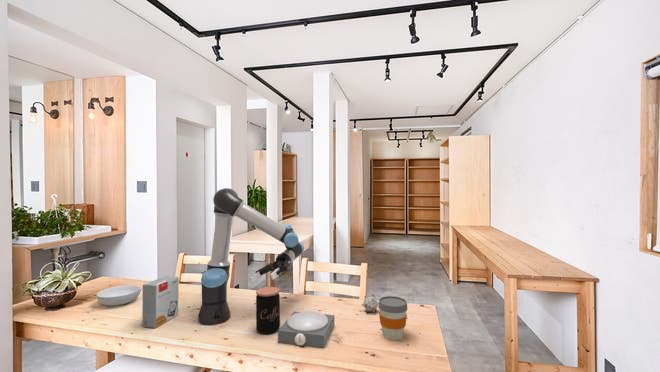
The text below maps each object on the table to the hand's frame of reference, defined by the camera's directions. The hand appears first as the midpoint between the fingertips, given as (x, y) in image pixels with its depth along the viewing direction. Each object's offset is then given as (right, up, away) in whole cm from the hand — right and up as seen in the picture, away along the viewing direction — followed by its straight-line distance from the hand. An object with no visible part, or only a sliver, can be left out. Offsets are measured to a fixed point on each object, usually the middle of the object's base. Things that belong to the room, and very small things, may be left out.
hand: (261, 279), depth 149 cm
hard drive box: (-49, -21, +2) cm, 54 cm away
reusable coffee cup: (+61, -21, -13) cm, 66 cm away
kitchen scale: (+23, -21, -12) cm, 33 cm away
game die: (+54, -21, +12) cm, 59 cm away
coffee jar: (+5, -21, -8) cm, 23 cm away
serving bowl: (-86, -21, +26) cm, 92 cm away
